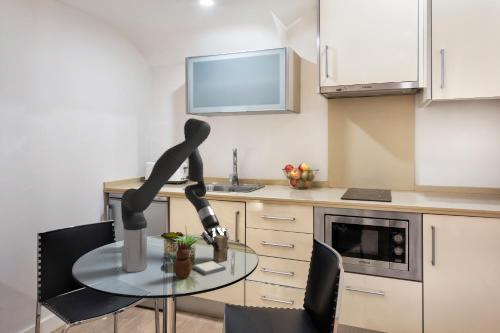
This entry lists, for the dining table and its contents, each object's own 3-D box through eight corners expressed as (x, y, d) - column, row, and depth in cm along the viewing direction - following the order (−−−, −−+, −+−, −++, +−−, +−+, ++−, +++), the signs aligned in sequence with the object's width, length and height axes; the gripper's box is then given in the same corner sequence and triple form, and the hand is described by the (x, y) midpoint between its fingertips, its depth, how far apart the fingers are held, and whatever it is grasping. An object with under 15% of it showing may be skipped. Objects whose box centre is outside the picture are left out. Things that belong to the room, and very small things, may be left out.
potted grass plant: (174, 280, 132) (174, 242, 131) (173, 274, 138) (173, 238, 137) (192, 279, 134) (192, 241, 133) (190, 273, 140) (190, 237, 139)
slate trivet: (205, 275, 138) (205, 272, 138) (192, 268, 146) (192, 265, 146) (225, 269, 145) (225, 266, 145) (212, 263, 152) (212, 260, 152)
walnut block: (219, 262, 153) (219, 238, 152) (213, 259, 157) (213, 235, 156) (227, 260, 156) (227, 236, 155) (221, 257, 159) (221, 234, 159)
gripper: (198, 215, 156) (213, 248, 148) (224, 212, 165) (239, 243, 157) (192, 225, 160) (206, 257, 152) (217, 221, 170) (232, 251, 161)
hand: (222, 250), depth 155 cm, fingers closed on walnut block, 4 cm apart
